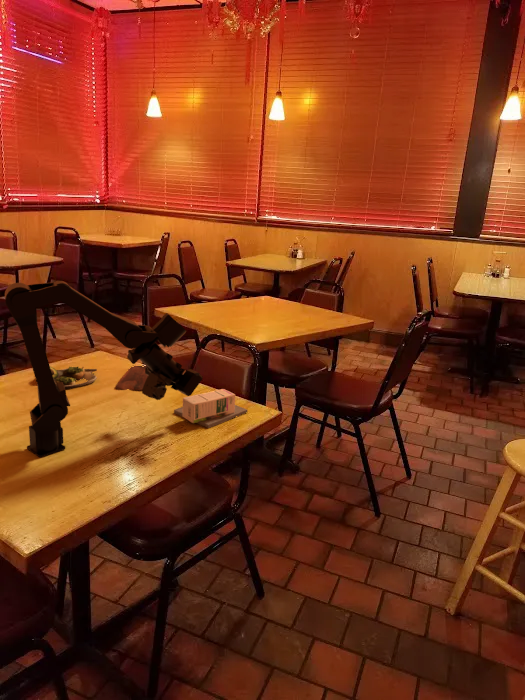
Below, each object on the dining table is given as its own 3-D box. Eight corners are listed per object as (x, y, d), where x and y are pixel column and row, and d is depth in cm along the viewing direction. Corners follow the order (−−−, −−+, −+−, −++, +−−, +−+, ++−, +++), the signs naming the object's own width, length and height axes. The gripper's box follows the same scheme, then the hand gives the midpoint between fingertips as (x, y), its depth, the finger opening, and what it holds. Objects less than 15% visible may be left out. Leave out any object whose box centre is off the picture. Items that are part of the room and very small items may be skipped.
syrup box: (193, 404, 136) (236, 394, 145) (181, 397, 141) (224, 388, 150) (192, 423, 138) (235, 413, 147) (181, 416, 142) (223, 406, 151)
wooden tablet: (131, 361, 186) (158, 360, 186) (132, 367, 187) (159, 366, 187) (113, 387, 161) (145, 385, 161) (114, 394, 161) (145, 392, 161)
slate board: (208, 428, 138) (208, 424, 138) (173, 412, 147) (174, 409, 146) (247, 412, 150) (247, 409, 150) (213, 399, 159) (213, 396, 158)
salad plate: (86, 368, 180) (85, 355, 179) (110, 382, 168) (110, 369, 167) (29, 377, 167) (28, 364, 166) (51, 394, 155) (51, 379, 154)
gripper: (116, 374, 132) (153, 404, 143) (157, 396, 120) (193, 427, 130) (143, 340, 135) (177, 373, 146) (185, 358, 123) (219, 392, 133)
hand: (190, 391), depth 139 cm, fingers closed
